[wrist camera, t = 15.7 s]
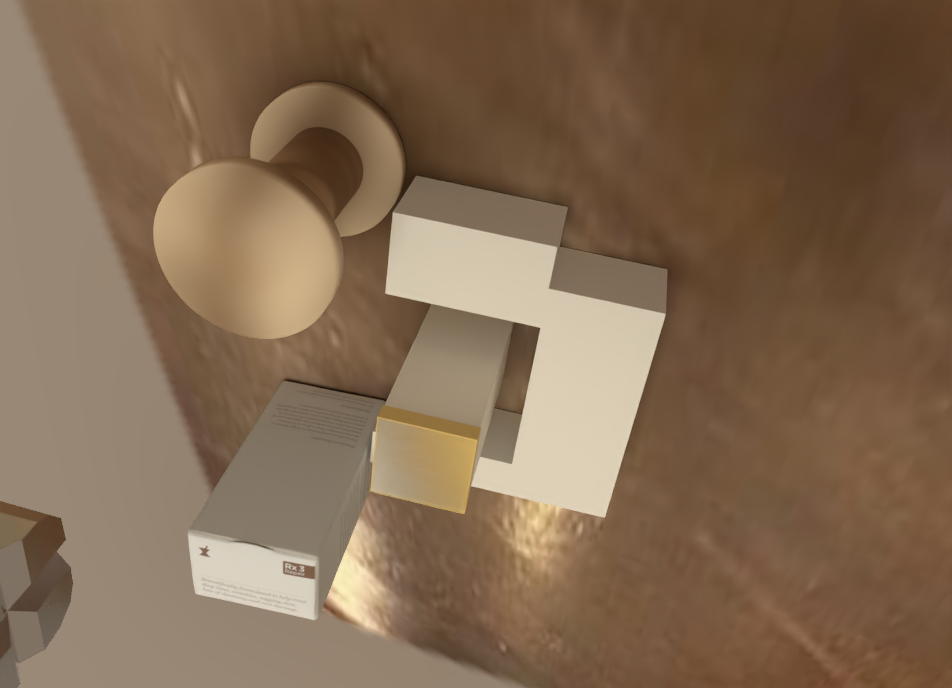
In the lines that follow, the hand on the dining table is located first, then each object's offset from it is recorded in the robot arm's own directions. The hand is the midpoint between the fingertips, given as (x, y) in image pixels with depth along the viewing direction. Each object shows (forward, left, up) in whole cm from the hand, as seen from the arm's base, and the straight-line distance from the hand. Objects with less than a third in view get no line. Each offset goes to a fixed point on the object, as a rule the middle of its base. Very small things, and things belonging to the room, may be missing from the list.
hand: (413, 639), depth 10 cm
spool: (+11, +9, -31) cm, 34 cm away
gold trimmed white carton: (+3, +17, -31) cm, 36 cm away
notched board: (+1, +17, -31) cm, 35 cm away
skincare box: (+10, +24, -31) cm, 41 cm away
